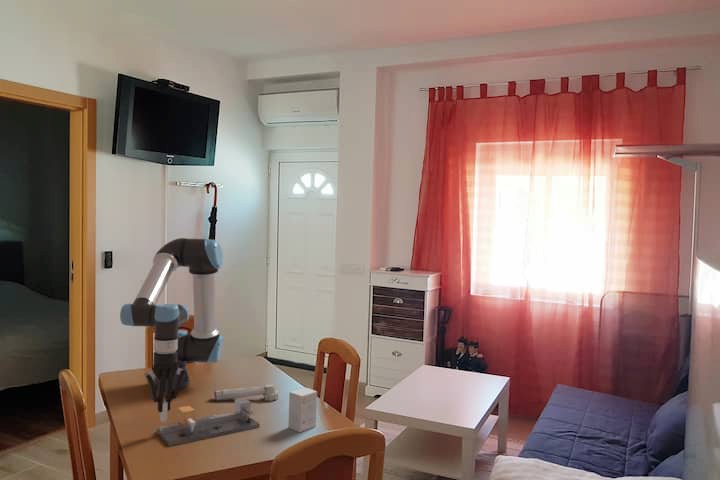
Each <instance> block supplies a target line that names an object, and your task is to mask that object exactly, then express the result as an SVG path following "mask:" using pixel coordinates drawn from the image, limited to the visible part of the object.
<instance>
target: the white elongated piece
mask: <svg viewBox="0 0 720 480" xmlns="http://www.w3.org/2000/svg"><path fill="white" fill-rule="evenodd" d="M261 395H262V397H263V399H264V401H267V402H268V401H269V402H273V401H274V400H275V401H277V400H278V399H279V397H278V395H279V390H277V388H276V385H275V384H273V383H272V384H266V385H264V386H253V387H243V388H240V387H239V388H229V389H225V388H223V389H220V390H215V391H214V400H215V402H217V401H218V402H220V401H227V400H228V401H229V400H236V399H242V398H247V397H253V396H261Z"/></svg>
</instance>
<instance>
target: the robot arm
mask: <svg viewBox="0 0 720 480" xmlns="http://www.w3.org/2000/svg"><path fill="white" fill-rule="evenodd" d="M223 258H224V257H223V250H222V246H221V244H220V242H219V241H218V240H216V239H209V238H186V237H185V238H183V237H180V238H176V239H173V240H171V241H169V242H167V243H166V244H164V245H162V247H160V248H159V250H158V251H156V253H155V254H154V257H153V260H152V263H153V265H152V266H151V269H150V270H149V273H148V274H147V276H146V278H145V280H144V281H143V283H142V286H141V287H140V289H139V291H138V293H137V295H136V297H135V299H134V301H133V302H132V303H125V304H123V305H122V307H121V309H120V312H119V319H120V322H121V324H122V325H124V326H130V327H153V328H154V332H153V333H154V337H153V351H154V352H153V365H152V368H151V370H150V371H148V373H147V372H146V373H145V374H144V377H145V378H146V380H147V383H148V388H149V392H150V396H151V397H150V398H151V399H152V401H153V402H154V403H157V412H159V421H160V422H161V423H166V422H168V412H169V411H170V410H171V403H172V401H173V400H176V399H177V397H178V393H179V390H183V389H185V388H187V387H189V386H190V384H191V378H190V375H189V371H188V367H187V363H205V364H209V363H214V364H215V363H217V362H218V361H219V360H220V359H221V358H220V357H221V354H222V351H223V346H224V335H222V334H220V331H219V329H218V328H217V327H216V304H215V303H216V299H215V297H216V296H215V295H216V294H215V293H216V292H215V291H216V290H215V287H216V286H215V285H216V284H215V283H216V282H215V275H216V274H218V272H219V269H221V268H222V266H223ZM180 267H184V268H186V267H187V268H188V273H189V274H190V275H191V276H192V283H193V284H192V290H193V291H192V293H193V320H194V321H193V322H194V323H193V329H192V330H191V331H190V333H189V332H188V330H187V329H179V328H180V327H182V326H184V325H185V324H186V323H187V322H188V320H189V319H190V311H189V309H188V307H187V306H186V305H184V304H181V303H180V304H179V303H178V304H174V303H163V304H158V302H159V299H160V298H161V295H162V294H163V291H164V290H165V287H167V286H166V285H167V283H168V281H169V279H170V277H171V275H172V273H173V272H175V271H177V269H178V268H180ZM164 391H165V392H164ZM164 393H165V394H164ZM164 399H165V400H164Z"/></svg>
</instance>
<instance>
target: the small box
mask: <svg viewBox="0 0 720 480" xmlns="http://www.w3.org/2000/svg"><path fill="white" fill-rule="evenodd" d="M288 401H289V402H288V426H287V427H288V429H289V430H290V429H291V430H293V431H295V432H298V433H302V432H305V431H308V430H310V429H312V428H315V427H317V410H318V409H317V406H318V402H317V401H318V391H317V390H314V389H312V388H309V387H302V388H299V389H296V390H295V389H294V390H292V391H289V397H288Z"/></svg>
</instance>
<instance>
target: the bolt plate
mask: <svg viewBox="0 0 720 480" xmlns="http://www.w3.org/2000/svg"><path fill="white" fill-rule="evenodd" d="M251 403H252V402H251V401H250V400H249V399H247V397H241V398H235V399H234V411H233V412H227V413H221V414H216V415H211V416H205V417H201V418H194V421H195V426H194V432H191V426H190V425H189V424H186V425H182V424H181V423H180V422H179V421H178V422H174V423H168V424H164V425H159V428H156V429H155V433H156V434H157V435H158V436H159V437H160V438H161V440H162V441H163V442H164V443H165V444H166V445H167V446H168V447H173V446H177V445H178V446H179V445H184V444H188V443H192V442H196V441H201V440H206V439H211V438H215V437H220V436H225V435H229V434H235V433H238V432H243V431H248V430H253V429H257V428H260V427H261V426H260V423H259V422H258V421H257V420H255V419H253V417H252V415H254V413H253V410H252V409H251V408H252V407H251V406H252V405H251Z"/></svg>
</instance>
